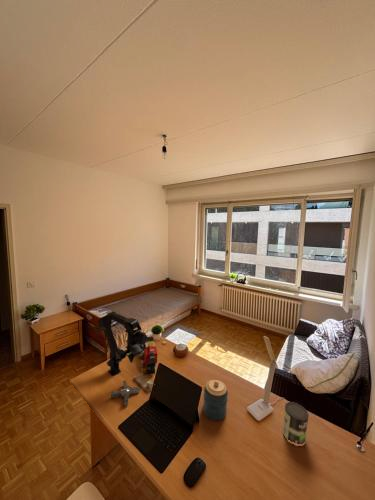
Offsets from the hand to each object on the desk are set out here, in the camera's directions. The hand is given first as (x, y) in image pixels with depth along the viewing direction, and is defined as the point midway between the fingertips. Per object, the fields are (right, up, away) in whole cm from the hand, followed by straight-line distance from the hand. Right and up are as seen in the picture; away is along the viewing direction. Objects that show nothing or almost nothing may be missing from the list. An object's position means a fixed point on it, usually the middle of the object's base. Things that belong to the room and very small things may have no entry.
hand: (131, 362), depth 134 cm
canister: (+51, -17, -19) cm, 57 cm away
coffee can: (+89, -20, -31) cm, 97 cm away
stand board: (+9, -13, -2) cm, 16 cm away
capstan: (0, -13, -11) cm, 17 cm away
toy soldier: (+7, -11, +19) cm, 23 cm away
